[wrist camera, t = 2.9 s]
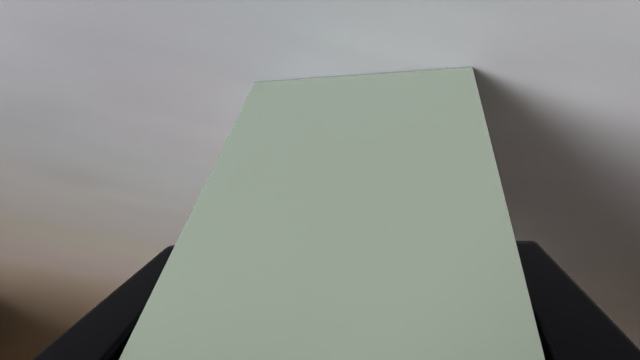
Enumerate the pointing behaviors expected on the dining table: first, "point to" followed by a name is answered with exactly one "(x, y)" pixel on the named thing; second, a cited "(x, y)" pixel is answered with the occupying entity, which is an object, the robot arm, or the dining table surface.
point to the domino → (347, 232)
